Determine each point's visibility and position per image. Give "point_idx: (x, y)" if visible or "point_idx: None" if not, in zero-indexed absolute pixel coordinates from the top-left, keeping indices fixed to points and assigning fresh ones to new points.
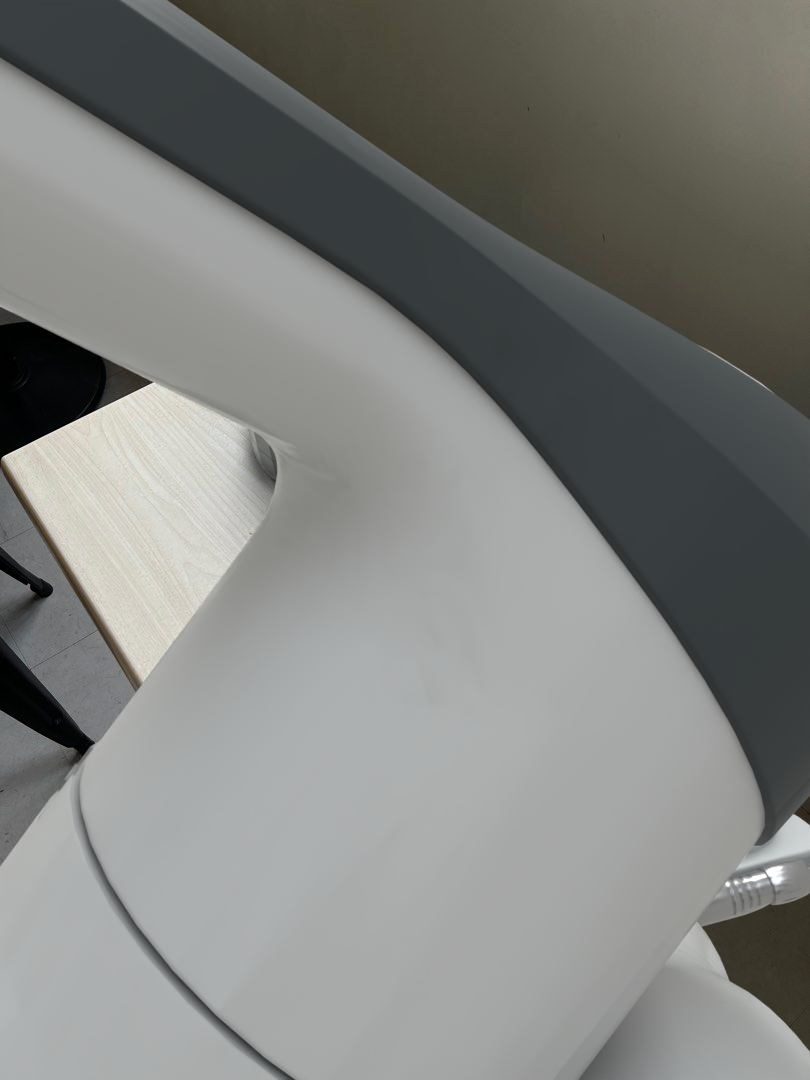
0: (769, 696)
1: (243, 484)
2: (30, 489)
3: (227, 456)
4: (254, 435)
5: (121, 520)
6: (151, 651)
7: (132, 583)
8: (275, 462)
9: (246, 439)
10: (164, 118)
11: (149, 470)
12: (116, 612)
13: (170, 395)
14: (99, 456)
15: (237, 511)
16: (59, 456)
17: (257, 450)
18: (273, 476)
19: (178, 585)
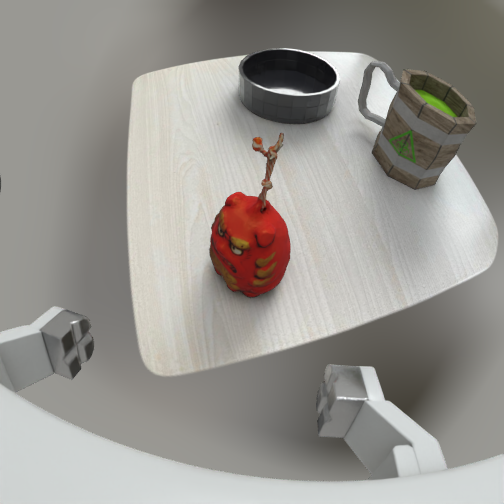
0: None
1: (226, 102)
2: (134, 86)
3: (225, 89)
4: (239, 76)
5: (160, 104)
6: (138, 167)
7: (148, 132)
8: (245, 92)
9: None
10: None
11: (186, 87)
12: (133, 144)
13: (213, 62)
14: (168, 78)
15: (216, 112)
16: (153, 76)
17: (239, 86)
18: (243, 101)
19: (168, 138)
